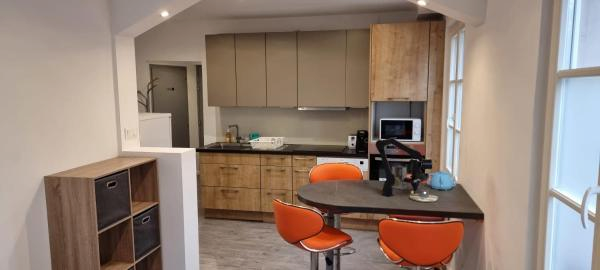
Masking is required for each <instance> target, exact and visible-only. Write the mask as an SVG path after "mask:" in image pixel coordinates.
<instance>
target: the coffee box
mask: <svg viewBox="0 0 600 270" xmlns="http://www.w3.org/2000/svg"><path fill="white" fill-rule="evenodd" d="M391 172H392V173H394V176H395V177H396V180H395V183H394V185H392V188H393V189H397V190H405V189H407V188H408V187H407V186H408V185H407V184H408V183H407V182H403V181H404V178H406V177H408V167H407V166H402V165H394V166H392V170H391Z"/></svg>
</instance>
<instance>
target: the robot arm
mask: <svg viewBox="0 0 600 270" xmlns="http://www.w3.org/2000/svg"><path fill="white" fill-rule="evenodd" d="M389 145H393V146H394V147H396V148H399V149H400V150H402V151H404V153H406V154H408V155H409V156H410V159H409V161H408V163H411V169H410V170H409V172H411V175H410V176H407V177H406V178H404V181H403V182H407V184H411V187H412V189H413V191H414V192H417V191H418V188H419V186H420V184H421V183H422V182H428V181H429V179H428V178H429V177H430V176H429V174H430V173H428V172H426V173H423V170H433V159H432V158H428V159H427V158H425V159H424V157H422V153H421V151H420V150H418V149H417V148H416V149H415V148H412V147H409V146H408V145H406V144H405V143H402V142H401V141H398V140H397V139H395V137H390V138H386V139H381V138H379V139H377V140H376V141H375V147H376V150H377V151H378V153H379V155H380V158H381V159H380V160H381V161H382V162H381V163H382V167H383V169H384V172H385V181H383V184H382V185H383V186H382V193H381V194H380V195H381V196H383V197H392V196H394V194H393V192H394V191H393V189H394V188H392V185H394V183H395V180H396V177H395V176H394V173H392V170H391V167H390V164H389V161H388V158H387V154H386V148H385V147H386V146H389ZM421 168H422V170H421Z"/></svg>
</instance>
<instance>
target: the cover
mask: <svg viewBox="0 0 600 270" xmlns="http://www.w3.org/2000/svg"><path fill="white" fill-rule="evenodd" d="M418 193H419V197H422V198H428V197H429V194H430V191H429V190H428V189H419V192H418Z"/></svg>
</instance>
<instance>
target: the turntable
mask: <svg viewBox="0 0 600 270" xmlns="http://www.w3.org/2000/svg"><path fill="white" fill-rule="evenodd" d="M414 192H415V191H414V190H410V194H409V199H411V200H413V201H417V202H422V203H423V202H424V203H425V202H427V203H431V202H432V203H433V202H437V201H439V198H438V197H439V196H437V195H435V194H432V193H429V197H428V198H422V197H419V192H415V193H414Z"/></svg>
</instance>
